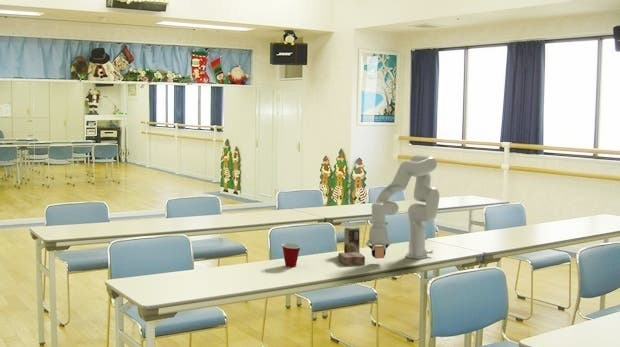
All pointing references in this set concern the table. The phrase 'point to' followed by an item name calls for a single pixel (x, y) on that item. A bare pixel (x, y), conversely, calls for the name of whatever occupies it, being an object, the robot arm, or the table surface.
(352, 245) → the coffee box
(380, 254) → the orange block
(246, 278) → the table surface
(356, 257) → the walnut block
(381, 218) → the robot arm
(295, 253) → the plastic cup
